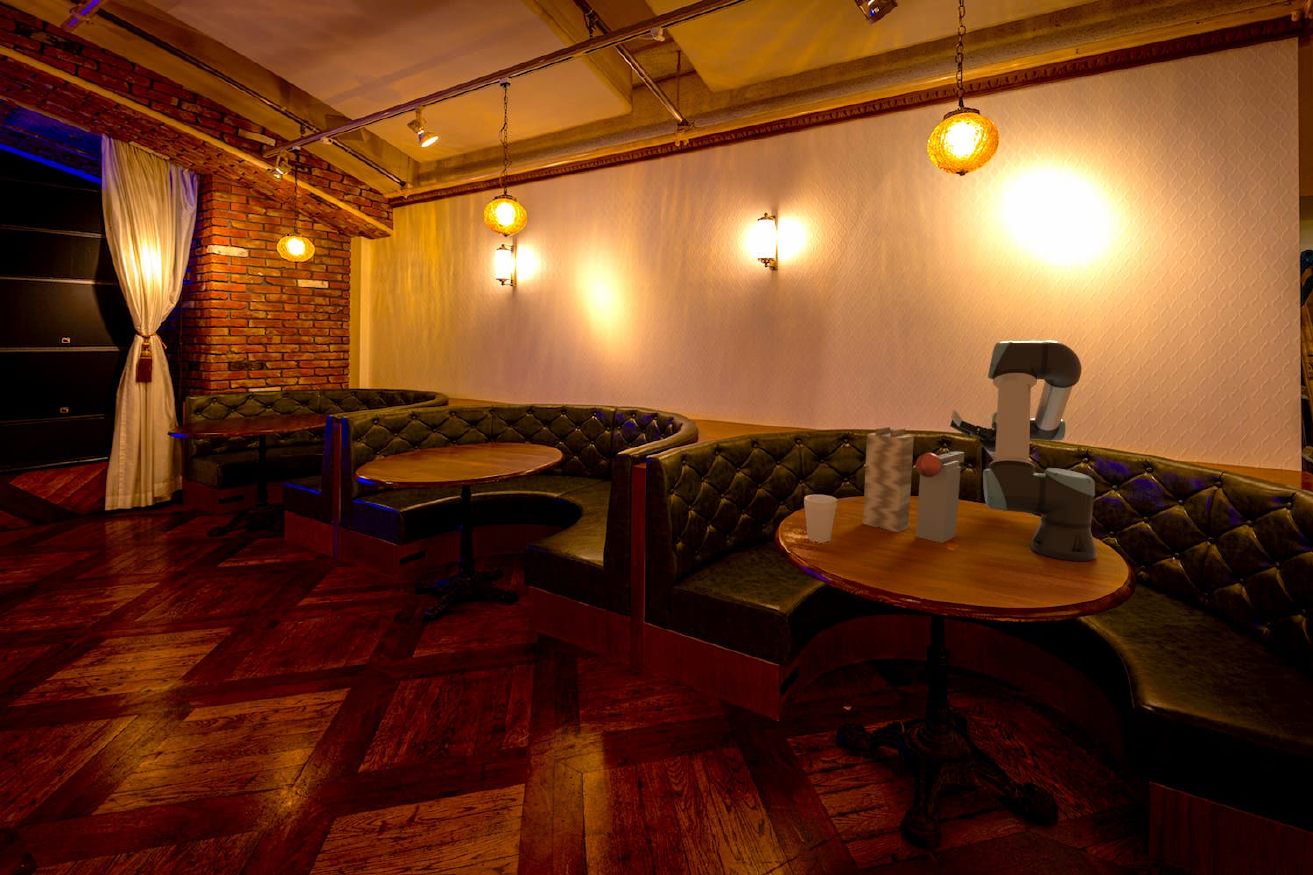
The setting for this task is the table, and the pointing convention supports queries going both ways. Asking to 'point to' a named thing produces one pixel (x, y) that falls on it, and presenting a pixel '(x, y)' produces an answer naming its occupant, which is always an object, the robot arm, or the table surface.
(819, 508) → the foam cup
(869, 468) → the beige patterned tall block
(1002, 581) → the table surface
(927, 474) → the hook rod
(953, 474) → the tall grey block
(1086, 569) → the table surface
